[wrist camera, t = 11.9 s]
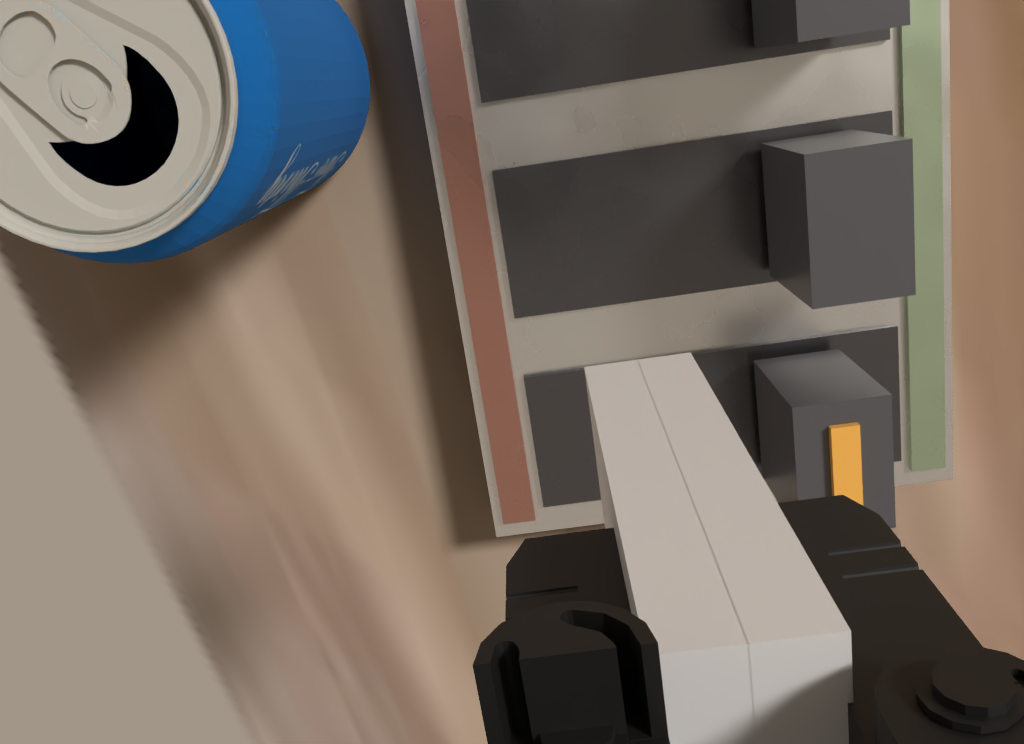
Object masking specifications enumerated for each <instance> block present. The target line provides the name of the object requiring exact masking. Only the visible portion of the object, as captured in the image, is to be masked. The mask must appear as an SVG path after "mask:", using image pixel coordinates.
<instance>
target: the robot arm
mask: <svg viewBox="0 0 1024 744" xmlns="http://www.w3.org/2000/svg"><path fill="white" fill-rule="evenodd" d="M584 370H585V378H586V385H587V393H588V401H589V409H590V416H591V424H592V432H593V440H594V447H595V455H596V463H597V471H598V478H599V486H600V494H601V502H602V509H603V517H604V525H605V529H599V530H591V531H583V532H575V533H568V534H560V535H552V536H544V537H537V538H529V539H525V540H524V542H523V543H522V544H521V546H520V547H519V549H518V550H517V551H516V553H515V554H514V556H513V557H512V559H511V560H510V561H509V563H508V564H507V566H506V598H507V600H506V621H505V622H503V623H501V624H500V625H499V626H498V627H497V628H496V629H495V630H494V631H493V632H492V633H491V634H490V635H489V636H488V637H487V638H486V639H485V640H484V641H483V642H482V643H481V644H480V647H479V650H478V653H477V655H476V658H475V661H474V664H473V669H474V674H475V679H476V684H477V690H478V695H479V700H480V705H481V710H482V716H483V721H484V726H485V731H486V736H487V742H488V744H1024V660H1021V659H1019V658H1017V657H1015V656H1013V655H1010V654H1008V653H1005V652H1001V651H996V650H992V649H987V648H983V647H982V645H981V644H980V643H979V641H978V640H977V639H976V638H975V636H974V635H973V634H972V632H971V631H970V630H969V629H968V627H967V626H966V625H965V623H964V622H963V621H962V620H961V618H960V617H959V616H958V615H957V613H956V612H955V611H954V609H953V608H952V607H951V606H950V604H949V603H948V602H947V600H946V599H945V598H944V597H943V595H942V594H941V593H940V591H939V590H938V589H937V588H936V586H935V585H934V584H933V582H932V581H931V580H930V579H929V577H928V576H927V575H926V574H925V572H924V571H923V570H919V568H918V563H917V562H916V561H915V559H914V558H913V557H912V556H911V554H910V553H909V552H908V550H907V549H906V548H905V547H901V543H900V540H899V539H898V538H897V536H896V535H895V534H894V533H893V531H892V530H891V529H890V527H889V526H888V525H887V524H886V522H885V521H884V520H883V518H882V517H881V516H880V515H879V514H877V513H876V512H874V511H872V510H870V509H868V508H866V507H865V506H863V505H861V504H859V503H857V502H855V501H854V500H852V499H850V498H848V497H846V496H844V495H836V496H829V497H821V498H813V499H805V500H798V501H790V502H782V503H777V501H776V500H775V498H774V496H773V495H772V493H771V491H770V489H769V488H768V486H767V484H766V482H765V481H764V479H763V477H762V475H761V474H760V472H759V470H758V468H757V467H756V465H755V463H754V462H753V460H752V458H751V456H750V455H749V453H748V451H747V449H746V448H745V446H744V444H743V442H742V441H741V439H740V437H739V436H738V434H737V432H736V430H735V429H734V427H733V425H732V423H731V422H730V420H729V418H728V416H727V415H726V413H725V411H724V409H723V408H722V406H721V404H720V403H719V401H718V399H717V397H716V396H715V394H714V392H713V390H712V389H711V387H710V385H709V383H708V382H707V380H706V378H705V377H704V375H703V373H702V371H701V370H700V368H699V366H698V364H697V363H696V361H695V359H694V357H693V356H692V354H691V352H689V353H682V354H674V355H667V356H660V357H653V358H645V359H638V360H631V361H624V362H616V363H609V364H602V365H595V366H587V367H584Z"/></svg>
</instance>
